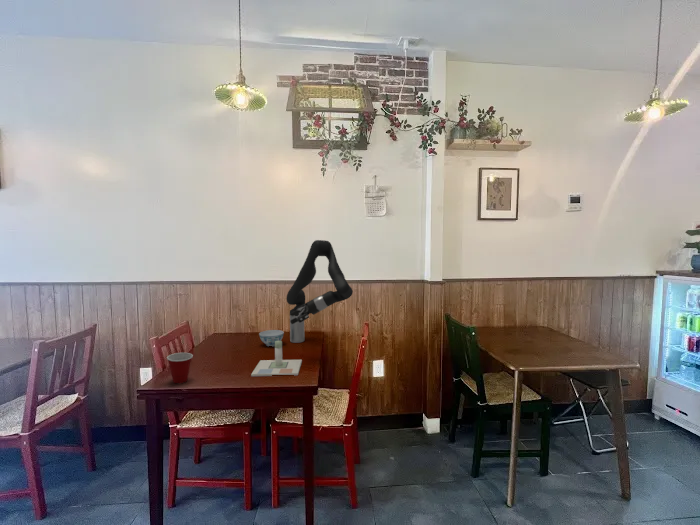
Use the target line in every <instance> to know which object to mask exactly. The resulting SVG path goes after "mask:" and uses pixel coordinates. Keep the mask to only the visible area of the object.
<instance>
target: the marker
mask: <svg viewBox="0 0 700 525" xmlns="http://www.w3.org/2000/svg"><path fill="white" fill-rule="evenodd" d="M274 360H275V366H281V365H282V360H283V341H282V340H281V341H275V346H274Z"/></svg>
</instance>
